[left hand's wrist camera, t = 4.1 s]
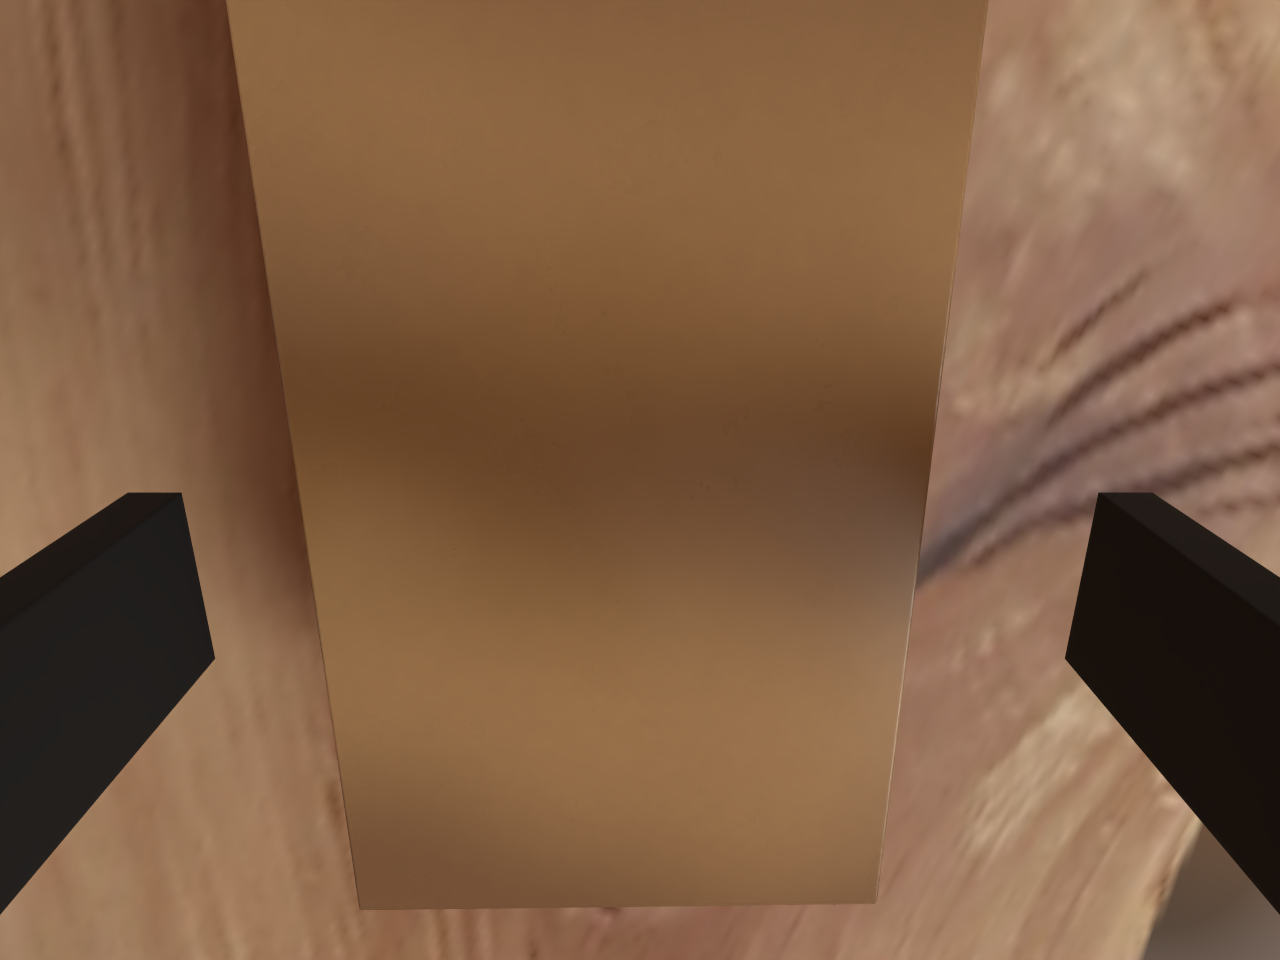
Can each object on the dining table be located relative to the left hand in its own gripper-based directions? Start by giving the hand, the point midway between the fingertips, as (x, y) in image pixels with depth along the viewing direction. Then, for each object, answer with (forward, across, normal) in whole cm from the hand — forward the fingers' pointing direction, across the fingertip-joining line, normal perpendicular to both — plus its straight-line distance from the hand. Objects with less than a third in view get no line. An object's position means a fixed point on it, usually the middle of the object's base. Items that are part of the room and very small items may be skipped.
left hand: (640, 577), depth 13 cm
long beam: (+7, 0, -21) cm, 22 cm away
